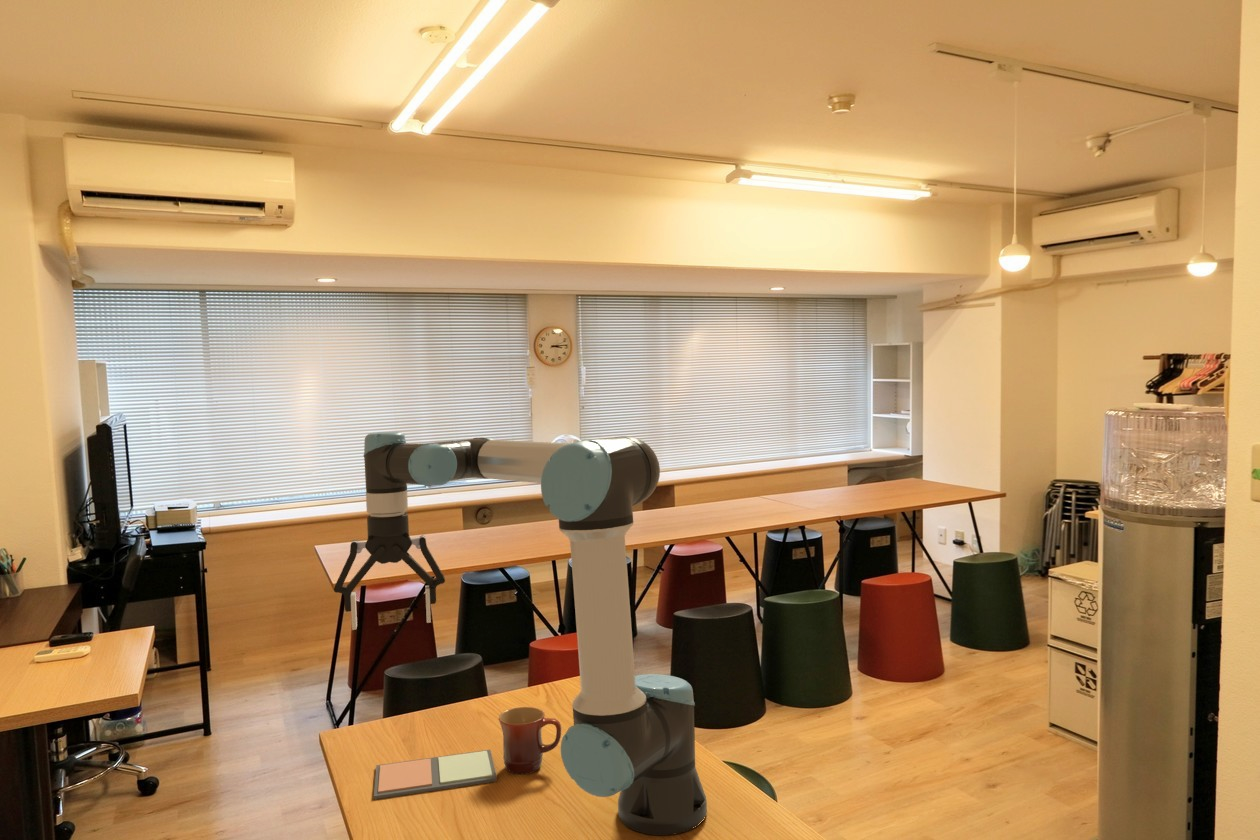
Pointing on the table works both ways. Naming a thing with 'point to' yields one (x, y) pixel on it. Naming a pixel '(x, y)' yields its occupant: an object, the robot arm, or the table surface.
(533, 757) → the mug
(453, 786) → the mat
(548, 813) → the table surface
